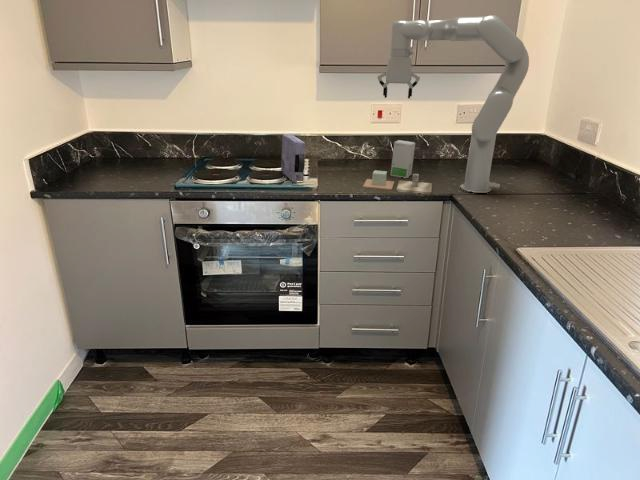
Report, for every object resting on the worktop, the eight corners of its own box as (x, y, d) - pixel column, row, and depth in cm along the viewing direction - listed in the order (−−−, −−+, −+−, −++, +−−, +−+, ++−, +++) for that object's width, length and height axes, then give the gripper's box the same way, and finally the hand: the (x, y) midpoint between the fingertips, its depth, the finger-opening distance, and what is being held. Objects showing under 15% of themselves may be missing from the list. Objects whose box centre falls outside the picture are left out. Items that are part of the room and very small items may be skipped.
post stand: (431, 185, 213) (433, 171, 211) (430, 194, 201) (432, 180, 199) (399, 182, 216) (400, 169, 214) (396, 191, 204) (397, 177, 201)
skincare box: (390, 176, 226) (393, 141, 220) (395, 173, 232) (398, 139, 226) (407, 178, 223) (411, 144, 217) (412, 175, 228) (415, 141, 222)
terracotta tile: (394, 182, 216) (394, 181, 216) (391, 190, 205) (391, 188, 205) (366, 180, 218) (367, 178, 218) (362, 187, 207) (362, 186, 207)
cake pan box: (305, 183, 211) (306, 141, 204) (294, 184, 209) (294, 142, 202) (291, 172, 227) (291, 133, 221) (280, 172, 226) (280, 133, 219)
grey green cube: (386, 182, 213) (386, 171, 211) (384, 186, 208) (385, 174, 206) (373, 181, 214) (374, 170, 212) (371, 184, 209) (372, 173, 207)
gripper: (422, 54, 202) (418, 97, 208) (379, 53, 205) (377, 96, 211) (421, 54, 195) (418, 99, 201) (377, 53, 198) (375, 98, 205)
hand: (397, 97), depth 206 cm, fingers open, 9 cm apart
